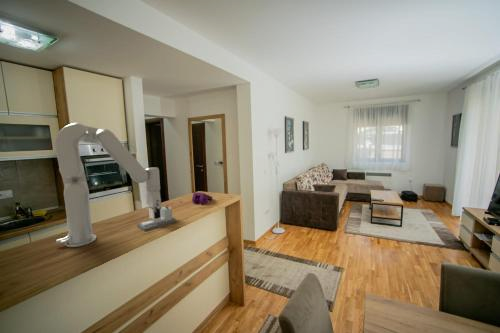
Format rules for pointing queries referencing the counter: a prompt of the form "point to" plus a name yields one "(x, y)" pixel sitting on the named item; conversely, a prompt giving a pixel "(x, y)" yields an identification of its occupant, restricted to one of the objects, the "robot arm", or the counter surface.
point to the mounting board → (165, 219)
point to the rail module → (153, 214)
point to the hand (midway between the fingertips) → (155, 216)
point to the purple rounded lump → (200, 198)
